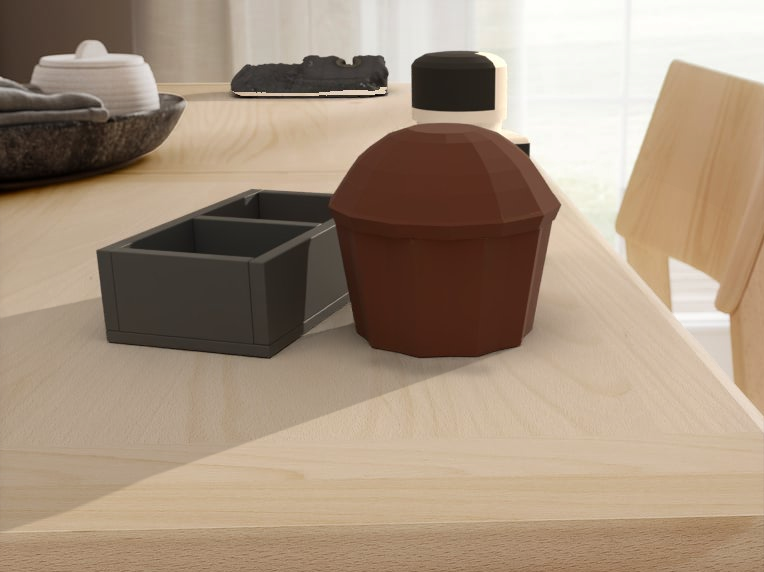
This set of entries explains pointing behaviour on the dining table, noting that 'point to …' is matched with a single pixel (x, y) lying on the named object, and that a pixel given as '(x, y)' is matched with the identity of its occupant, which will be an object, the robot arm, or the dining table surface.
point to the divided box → (227, 276)
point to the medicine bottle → (462, 91)
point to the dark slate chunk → (313, 76)
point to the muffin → (443, 240)
